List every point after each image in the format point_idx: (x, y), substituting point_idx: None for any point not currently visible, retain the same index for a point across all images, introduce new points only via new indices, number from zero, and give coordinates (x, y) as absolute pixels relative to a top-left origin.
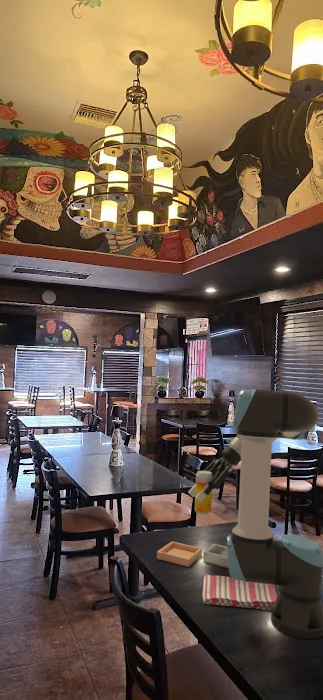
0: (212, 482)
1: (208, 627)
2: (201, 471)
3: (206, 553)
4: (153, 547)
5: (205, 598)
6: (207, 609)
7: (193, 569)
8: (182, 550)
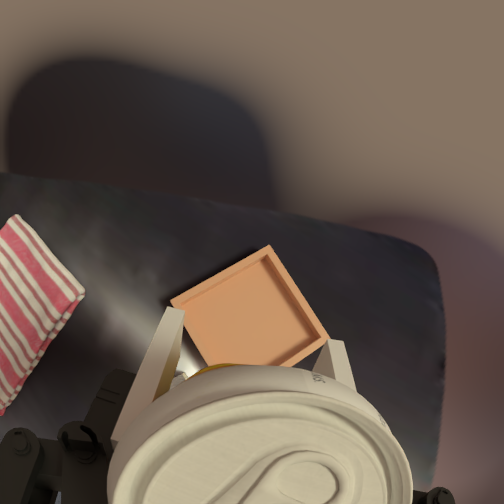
0: (62, 472)
1: None
2: None
3: (173, 378)
4: (344, 287)
5: (14, 217)
6: (5, 211)
7: (151, 308)
8: (277, 352)
